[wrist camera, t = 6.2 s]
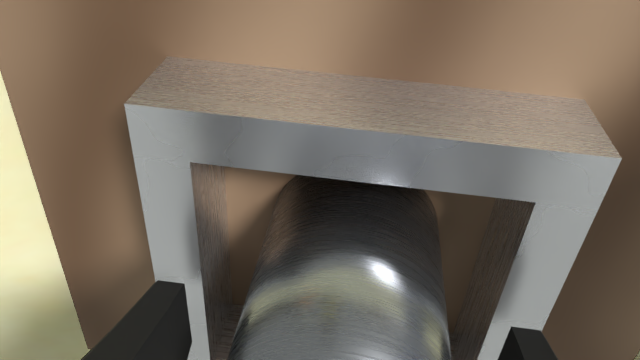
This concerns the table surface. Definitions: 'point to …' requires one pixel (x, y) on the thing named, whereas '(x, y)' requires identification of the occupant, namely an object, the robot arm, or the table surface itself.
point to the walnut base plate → (264, 187)
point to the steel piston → (346, 277)
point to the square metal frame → (367, 177)
